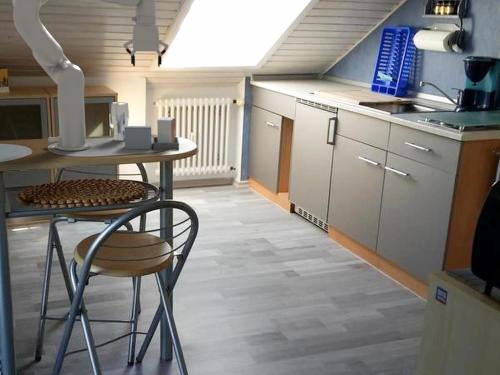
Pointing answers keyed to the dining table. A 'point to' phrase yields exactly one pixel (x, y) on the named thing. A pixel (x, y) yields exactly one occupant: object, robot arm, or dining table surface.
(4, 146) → the dining table surface
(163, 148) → the tray
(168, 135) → the small box
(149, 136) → the grey rectangular block
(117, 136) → the beer glass
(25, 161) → the dining table surface
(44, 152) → the dining table surface
